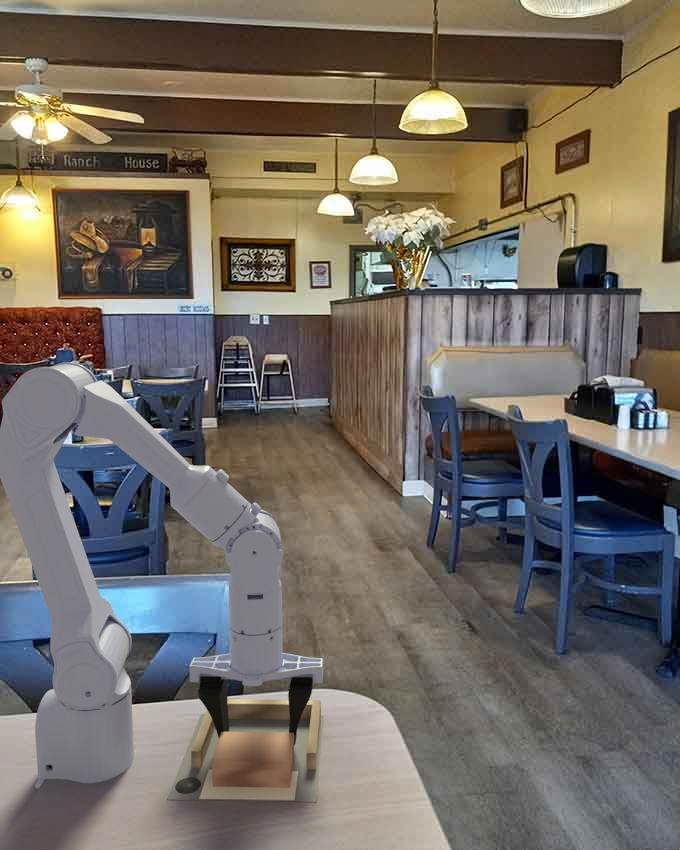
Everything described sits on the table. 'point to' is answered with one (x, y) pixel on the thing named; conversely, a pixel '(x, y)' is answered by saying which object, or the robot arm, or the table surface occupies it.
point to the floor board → (200, 787)
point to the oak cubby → (263, 712)
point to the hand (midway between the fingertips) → (258, 739)
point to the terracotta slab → (253, 759)
